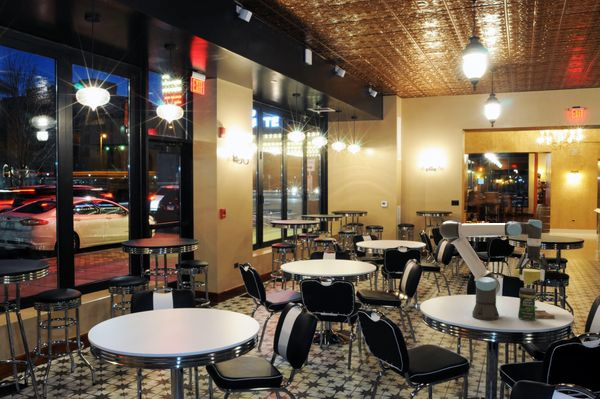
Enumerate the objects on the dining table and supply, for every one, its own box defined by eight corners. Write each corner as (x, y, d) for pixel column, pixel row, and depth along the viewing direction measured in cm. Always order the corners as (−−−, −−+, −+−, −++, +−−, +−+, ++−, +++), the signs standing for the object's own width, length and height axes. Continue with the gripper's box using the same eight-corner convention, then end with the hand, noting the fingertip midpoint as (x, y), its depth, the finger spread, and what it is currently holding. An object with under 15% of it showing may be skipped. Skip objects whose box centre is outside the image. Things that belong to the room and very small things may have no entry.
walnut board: (532, 318, 307) (532, 315, 307) (523, 312, 320) (524, 310, 320) (554, 318, 307) (554, 315, 307) (544, 313, 320) (544, 310, 320)
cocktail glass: (526, 310, 325) (527, 272, 325) (507, 304, 342) (508, 267, 342) (549, 309, 330) (550, 271, 329) (530, 303, 347) (531, 267, 347)
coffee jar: (517, 319, 303) (518, 288, 303) (518, 316, 310) (519, 286, 310) (535, 321, 299) (536, 290, 299) (535, 318, 306) (536, 287, 306)
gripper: (518, 245, 301) (516, 281, 301) (556, 246, 305) (554, 281, 306) (511, 244, 308) (509, 278, 309) (548, 244, 312) (546, 279, 313)
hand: (531, 280), depth 307 cm, fingers open, 13 cm apart
